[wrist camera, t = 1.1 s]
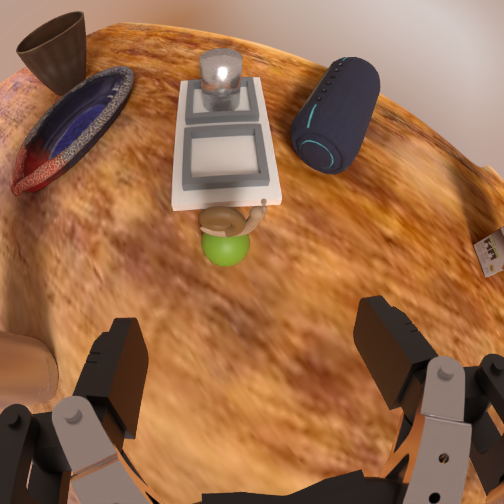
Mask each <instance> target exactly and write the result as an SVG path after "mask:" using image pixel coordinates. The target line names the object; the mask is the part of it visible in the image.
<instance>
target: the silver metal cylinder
mask: <svg viewBox="0 0 504 504" xmlns="http://www.w3.org/2000/svg"><path fill="white" fill-rule="evenodd" d="M200 73H201V87H202V100H203V106H204V108H205V109H206V110H207V111H209V112H219V111H234V110H236V109H237V108H238V106H239V104H240V91H241V73H242V55H241V54H240V53H239V52H237V51H235V50H232V49H227V48H218V49H212V50H209V51H207V52H205V53H203V54H202V55H201V56H200Z"/></svg>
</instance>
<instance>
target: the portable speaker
mask: <svg viewBox="0 0 504 504" xmlns="http://www.w3.org/2000/svg"><path fill="white" fill-rule="evenodd" d="M379 92H380V79H379V75H378V72H377V71H376V69H375V68H374V67H373V66H372V65H371V64H370V63H369V62H367V61H365V60H363V59H360V58H357V57H347V58H346V57H344V58H341V59H339V60H337V61H335V62H333V63H332V64H331V66H330V67H329V68H328V69H327V71H326V72H325V74H324V75H323V76H322V78H321V79H320V81H319V82H318V84H317V85H316V87H315V88H314V90H313V91H312V93H311V94H310V96H309V97H308V99H307V100H306V102H305V103H304V105H303V106H302V108H301V109H300V111H299V112H298V114H297V115H296V117H295V118H294V120H293V121H292V125H291V130H290V135H291V140H292V144H293V148H294V150H295V151H296V153H297V155H298V156H299V157H300V158H301V159H302V160H303V161H304V162H305V163H306V164H308V165H309V166H310V167H312V168H313V169H316V170H318V171H320V172H323V173H325V174H338V173H340V172H342V171H344V170H345V169H347V168H348V167H349V166H350V165H351V163H352V162H353V161H354V159H355V158H356V156H357V155H358V153H359V150H360V147H361V145H362V142H363V139H364V136H365V134H366V131H367V128H368V125H369V122H370V119H371V116H372V113H373V110H374V107H375V105H376V101H377V98H378V95H379Z"/></svg>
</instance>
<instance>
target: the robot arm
mask: <svg viewBox="0 0 504 504" xmlns="http://www.w3.org/2000/svg"><path fill="white" fill-rule="evenodd" d="M353 337H354V342H355V345H356V347H357V349H358V351H359V353H360V355H361V357H362V358H363V360H364V362H365V364H366V366H367V368H368V369H369V371H370V373H371V375H372V377H373V379H374V381H375V383H376V385H377V386H378V388H379V390H380V392H381V394H382V396H383V398H384V400H385V402H386V404H387V406H388V408H389V410H392V409H395V408H398V407H402V409H403V413H402V415H401V417H400V421H399V425H398V429H397V432H396V436H395V439H394V442H393V445H392V449H391V452H390V455H389V457H388V460H387V462H386V464H385V465H384V467H383V469H382V471H381V473H380V475H379V477H364V475H363V472H362V470H358V471H354V472H351V473H347V474H344V475H340V476H336V477H332V478H328V479H324V480H322V481H320V482H318V483H316V484H314V485H311V486H309V487H307V488H305V489H302V490H300V491H297V492H295V493H293V494H290V495H286V496H278V495H265V494H255V493H247V492H234V493H209V494H202V501H201V502H197V503H193V504H461V499H462V495H463V490H464V485H465V480H466V474H467V468H468V461H469V457H470V459H471V461H472V463H473V466H474V468H475V470H476V472H477V474H478V477H479V479H480V481H481V484H482V486H483V488H484V491H485V493H486V496H487V498H486V503H485V504H504V433H503V435H502V436H501V435H500V433H499V431H498V429H497V428H496V426H495V424H494V422H493V421H492V419H491V417H490V416H489V414H488V412H487V410H488V409H489V408H490V406H491V405H493V407H494V408H495V410H496V412H497V413H498V415H499V417H500V418H501V420H502V422H503V424H504V357H502V356H500V355H498V354H488V355H486V356H485V357H484V358H483V360H482V361H481V363H480V365H479V366H472V367H462V366H461V364H460V363H459V362H458V361H456V360H455V359H453V358H450V357H446V356H438V354H437V353H436V352H435V350H434V349H433V348H432V347H431V345H430V344H429V343H428V341H427V340H426V339H425V338H424V336H423V335H422V334H421V333H420V331H418V329H417V328H416V326H415V325H414V324H412V321H411V320H410V319H409V318H408V317H407V315H406V314H405V313H404V312H402V311H400V310H399V309H397V308H396V307H394V306H393V307H391V306H390V305H389V304H388V302H387V301H386V300H385V299H384V298H383V297H382V296H380V295H379V296H372V297H366V298H362V299H361V300H360V302H359V307H358V312H357V317H356V322H355V326H354V332H353ZM147 369H148V351H147V348H146V345H145V342H144V339H143V336H142V332H141V329H140V326H139V323H138V320H137V319H136V318H115V319H114V321H113V323H112V326H111V328H110V330H109V332H103V333H102V334H101V335H100V336H99V337H98V338H97V339H96V340H95V341H94V343H93V345H92V348H91V350H90V354H89V355H88V357H87V360H86V363H85V364H84V367H83V369H82V372H81V374H80V377H79V380H78V382H77V385H76V387H75V390H74V393H73V395H72V396H70V397H67V398H64V399H62V400H61V401H60V402H59V403H58V404H57V405H56V406H55V408H54V409H53V411H52V412H46V413H38V414H32V413H31V412H30V411H29V410H28V408H27V407H26V406H30V405H37V404H43V403H46V402H48V401H49V400H50V399H51V398H52V397H53V396H54V394H55V392H56V389H57V385H58V370H57V365H56V362H55V359H54V357H53V354H52V353H51V351H50V350H49V348H48V347H47V346H46V345H45V344H44V343H43V342H42V341H40V340H39V339H36V338H33V337H28V336H23V335H18V334H14V333H9V332H5V331H0V409H4V410H3V411H2V413H1V415H0V504H67V499H68V491H69V484H70V481H71V484H72V487H73V489H74V491H75V493H76V495H77V497H78V499H79V500H80V502H81V504H165V503H164V502H163V501H162V500H161V499H160V498H159V497H158V496H157V494H156V493H155V492H154V491H153V490H152V489H151V487H150V486H149V485H148V483H147V482H146V481H145V479H144V478H143V477H142V475H141V474H140V472H139V471H138V470H137V468H136V467H135V465H134V464H133V462H132V461H131V459H130V458H129V456H128V455H127V453H126V452H125V450H124V449H123V442H124V438H125V439H135V436H136V430H137V424H138V417H139V412H140V406H141V400H142V395H143V389H144V384H145V379H146V374H147ZM31 461H32V462H33V465H32V469H31V474H30V479H29V484H28V489H27V487H26V483H27V478H28V473H29V469H30V464H31ZM71 471H73V476H71Z"/></svg>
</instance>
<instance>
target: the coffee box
mask: <svg viewBox="0 0 504 504" xmlns="http://www.w3.org/2000/svg"><path fill="white" fill-rule="evenodd" d="M474 248H475V251H476V253H477V256H478V259H479V261H480V264H481V267H482V269H483V272H484V275H485V277H489V276H491V275H493V274H496V273H498V272H500V271H502V270H504V226H503V227H501V228H500V229H498V230H497V231H495V232H494V233H492V234H490V235H489V236H487V237H486V238H484V239H482V240H481V241H479V242H477V243H476V244H474Z"/></svg>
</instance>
